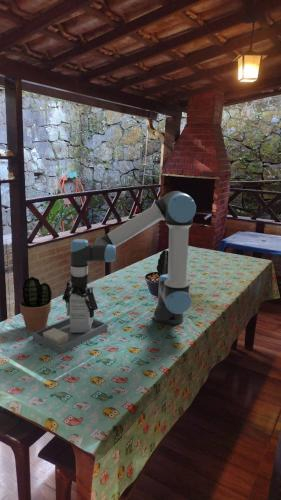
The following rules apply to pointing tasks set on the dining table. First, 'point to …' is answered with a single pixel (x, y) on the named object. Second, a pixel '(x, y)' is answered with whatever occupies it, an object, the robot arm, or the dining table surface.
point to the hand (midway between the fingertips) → (79, 319)
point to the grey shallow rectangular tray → (69, 335)
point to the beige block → (56, 336)
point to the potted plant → (35, 304)
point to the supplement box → (79, 314)
